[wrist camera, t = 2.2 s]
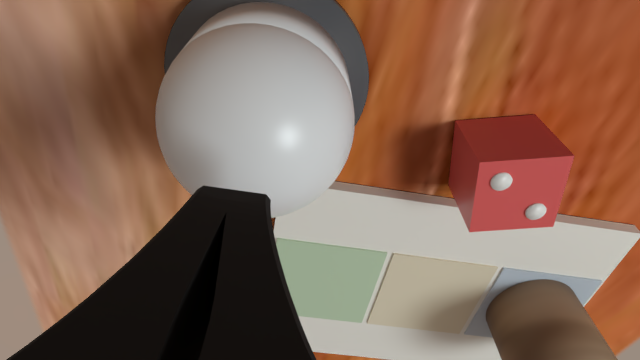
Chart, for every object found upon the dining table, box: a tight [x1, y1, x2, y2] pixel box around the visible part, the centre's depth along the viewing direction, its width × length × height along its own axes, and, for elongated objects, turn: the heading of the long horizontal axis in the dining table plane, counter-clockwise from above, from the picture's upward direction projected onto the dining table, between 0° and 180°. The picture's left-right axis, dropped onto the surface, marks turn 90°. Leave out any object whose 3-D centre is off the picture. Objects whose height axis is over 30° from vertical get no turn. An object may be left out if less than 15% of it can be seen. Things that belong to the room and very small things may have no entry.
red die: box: [448, 115, 574, 232], centre depth 16 cm, size 3×3×3 cm
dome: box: [155, 2, 355, 218], centre depth 12 cm, size 6×6×6 cm
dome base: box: [164, 0, 369, 126], centre depth 15 cm, size 7×7×1 cm
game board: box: [273, 181, 640, 360], centre depth 21 cm, size 11×16×1 cm
